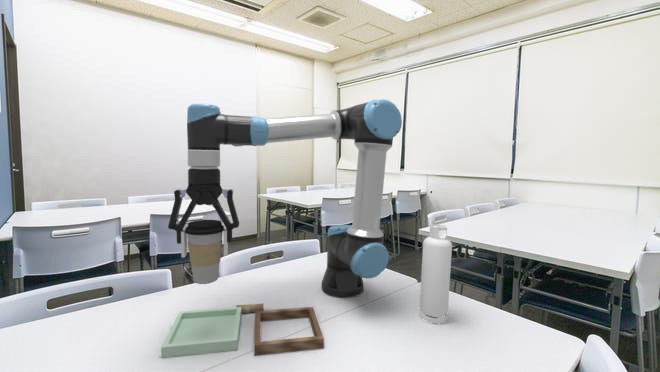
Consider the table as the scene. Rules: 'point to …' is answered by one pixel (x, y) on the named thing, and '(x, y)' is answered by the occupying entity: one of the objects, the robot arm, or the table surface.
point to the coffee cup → (205, 249)
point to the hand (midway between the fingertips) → (205, 254)
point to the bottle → (435, 275)
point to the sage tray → (203, 332)
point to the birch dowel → (251, 308)
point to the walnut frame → (287, 344)
